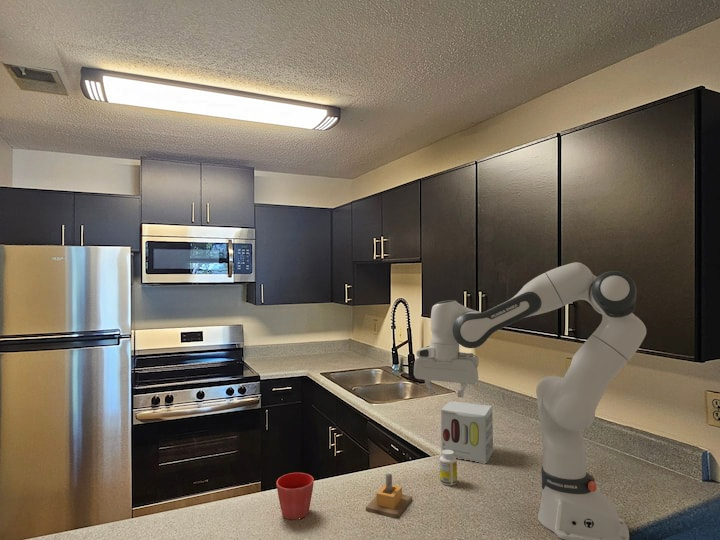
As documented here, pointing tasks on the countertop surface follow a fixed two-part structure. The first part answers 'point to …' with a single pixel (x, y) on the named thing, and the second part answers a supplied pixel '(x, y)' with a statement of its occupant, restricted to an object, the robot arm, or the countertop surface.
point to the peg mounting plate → (384, 510)
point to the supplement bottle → (448, 468)
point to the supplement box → (467, 430)
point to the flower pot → (295, 494)
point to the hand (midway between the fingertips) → (445, 395)
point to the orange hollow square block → (389, 496)
